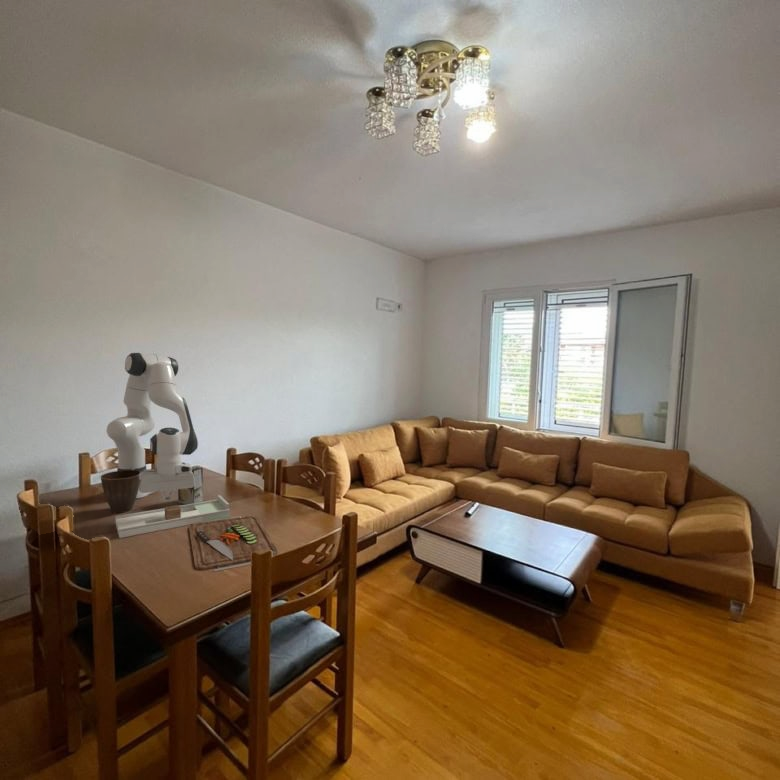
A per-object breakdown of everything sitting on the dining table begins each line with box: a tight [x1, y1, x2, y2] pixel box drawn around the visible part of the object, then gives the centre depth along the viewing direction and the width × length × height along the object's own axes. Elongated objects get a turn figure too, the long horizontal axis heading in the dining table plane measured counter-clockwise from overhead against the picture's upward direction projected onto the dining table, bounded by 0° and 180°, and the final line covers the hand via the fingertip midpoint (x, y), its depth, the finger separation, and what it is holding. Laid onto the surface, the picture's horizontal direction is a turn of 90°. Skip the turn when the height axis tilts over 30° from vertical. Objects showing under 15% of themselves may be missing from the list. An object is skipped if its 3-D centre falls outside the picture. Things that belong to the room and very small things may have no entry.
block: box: [164, 504, 181, 520], centre depth 170 cm, size 5×5×4 cm
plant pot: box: [100, 470, 140, 514], centre depth 182 cm, size 15×15×16 cm
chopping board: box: [188, 515, 279, 573], centre depth 157 cm, size 45×27×3 cm, turn 29°
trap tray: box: [115, 494, 231, 539], centre depth 173 cm, size 16×40×5 cm, turn 128°
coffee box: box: [177, 466, 204, 505], centre depth 196 cm, size 9×6×16 cm
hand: (167, 500), depth 174 cm, fingers closed
